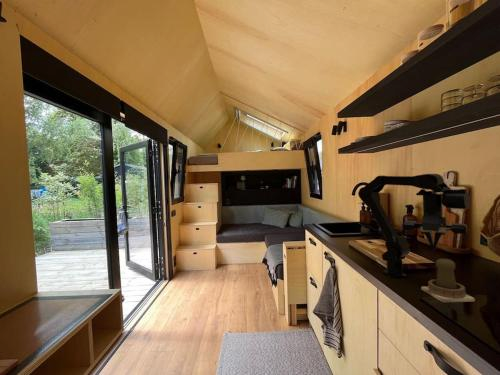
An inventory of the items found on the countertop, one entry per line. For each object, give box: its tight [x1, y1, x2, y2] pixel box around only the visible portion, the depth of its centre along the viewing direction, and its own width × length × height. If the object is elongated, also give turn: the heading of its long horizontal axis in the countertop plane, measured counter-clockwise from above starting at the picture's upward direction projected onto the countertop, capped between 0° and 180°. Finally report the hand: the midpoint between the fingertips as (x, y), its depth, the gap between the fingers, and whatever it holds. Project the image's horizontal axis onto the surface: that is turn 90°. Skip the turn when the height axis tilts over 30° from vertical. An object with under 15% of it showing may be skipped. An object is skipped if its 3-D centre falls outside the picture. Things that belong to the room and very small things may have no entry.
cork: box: [435, 258, 457, 289], centre depth 84 cm, size 6×6×11 cm
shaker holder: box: [420, 278, 475, 303], centre depth 84 cm, size 10×10×4 cm
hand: (433, 250), depth 92 cm, fingers closed
